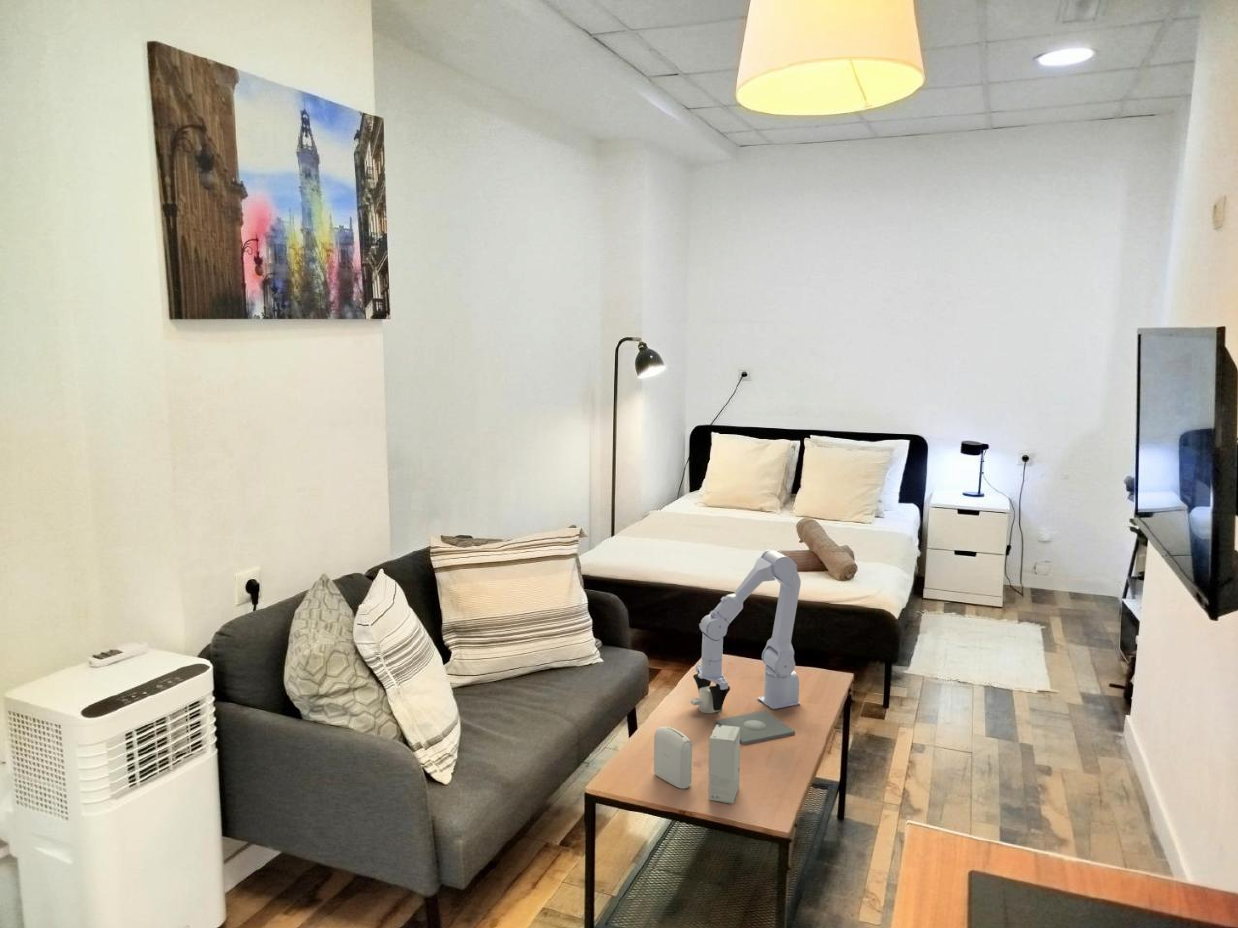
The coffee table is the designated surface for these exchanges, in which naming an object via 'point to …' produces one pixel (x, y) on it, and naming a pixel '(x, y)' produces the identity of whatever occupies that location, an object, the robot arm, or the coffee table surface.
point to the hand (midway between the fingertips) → (710, 704)
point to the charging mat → (757, 726)
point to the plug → (704, 700)
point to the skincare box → (724, 763)
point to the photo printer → (673, 757)
